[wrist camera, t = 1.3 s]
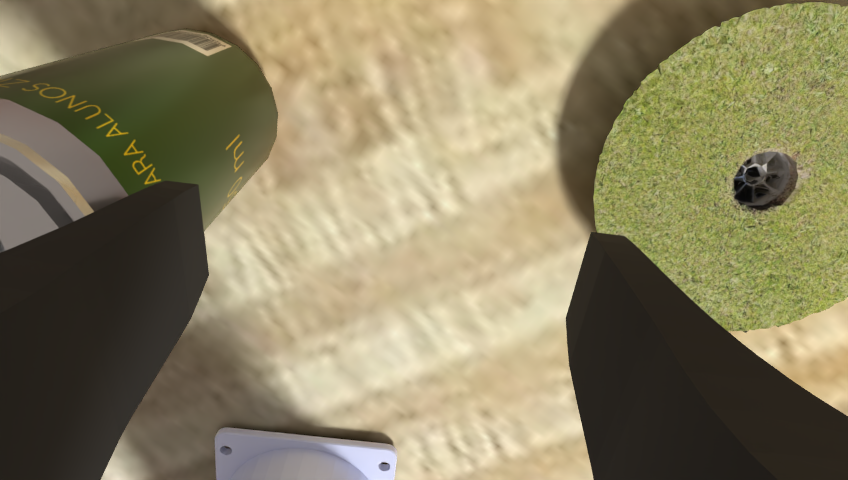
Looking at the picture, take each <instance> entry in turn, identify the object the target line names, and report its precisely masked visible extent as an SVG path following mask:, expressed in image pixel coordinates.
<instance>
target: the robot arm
mask: <svg viewBox="0 0 848 480" xmlns="http://www.w3.org/2000/svg"><path fill="white" fill-rule="evenodd" d="M208 276H209V272H208V263H207V254H206V246H205V237H204V228H203V219H202V211H201V202H200V193H199V184H191V183H182V182H174V181H166V180H165V181H163V182H160V183H157V184H154V185H152V186H149V187H147V188H145V189H142V190H140V191H138V192H136V193H133V194H131V195H129V196H127V197H125V198H123V199H121V200H118V201H116V202H114V203H112V204H110V205H108V206H106V207H104V208H101V209H99V210H97V211H95V212H93V213H91V214H89V215H87V216H84V217H82V218H80V219H78V220H76V221H74V222H72V223H69V224H67V225H65V226H63V227H60V228H58V229H56V230H53V231H51V232H48V233H46V234H44V235H41V236H39V237H37V238H34V239H32V240H30V241H27V242H25V243H23V244H20V245H18V246H16V247H13V248H11V249H8V250H6V251H3V252H0V480H101V477H102V475H103V473H104V471H105V469H106V467H107V465H108V462H109V460H110V458H111V456H112V454H113V452H114V450H115V447H116V445H117V443H118V441H119V439H120V437H121V435H122V433H123V431H124V430H125V428H126V426H127V424H128V422H129V421H130V419H131V417H132V415H133V413H134V412H135V410H136V409H137V407H138V405H139V404H140V402H141V400H142V399H143V397H144V395H145V394H146V392H147V391H148V389H149V387H150V386H151V384H152V382H153V381H154V379H155V377H156V376H157V374H158V372H159V371H160V369H161V368H162V366H163V364H164V363H165V361H166V359H167V358H168V356H169V354H170V353H171V351H172V349H173V348H174V346H175V344H176V343H177V341H178V339H179V338H180V336H181V334H182V333H183V331H184V329H185V328H186V326H187V324H188V322H189V321H190V319H191V317H192V314H193V312H194V310H195V308H196V305H197V303H198V301H199V298H200V296H201V293H202V291H203V288H204V286H205V283H206V281H207V278H208ZM566 328H567V344H568V356H569V366H570V371H571V376H572V381H573V385H574V390H575V395H576V400H577V404H578V409H579V413H580V418H581V422H582V427H583V431H584V436H585V440H586V445H587V449H588V454H589V458H590V463H591V467H592V472H593V478H594V480H848V416H846V415H845V414H843V413H841V412H840V411H838V410H837V409H835V408H833V407H832V406H830V405H829V404H827V403H825V402H824V401H822V400H821V399H819V398H817V397H816V396H814V395H813V394H811V393H810V392H808V391H807V390H805V389H804V388H802V387H801V386H799V385H798V384H796V383H795V382H793V381H792V380H791V379H789V378H788V377H786V376H785V375H784V374H782V373H781V372H779V371H778V370H777V369H775V368H774V367H773V366H771V365H770V364H768V363H767V362H766V361H764V360H763V359H762V358H760V357H759V356H757V355H756V354H755V353H754V352H752V351H751V350H750V349H748V348H747V347H746V346H745V345H743V344H742V343H741V342H740V341H738V340H737V339H736V338H735V337H734V336H733V335H731V334H730V333H729V332H728V331H727V330H725V329H724V328H723V327H722V326H721V325H720V324H718V323H717V322H716V321H715V320H714V319H712V318H711V317H710V316H709V315H708V314H707V313H706V312H705V311H704V310H702V309H701V308H700V307H699V306H698V305H697V304H696V303H695V302H694V301H693V300H691V299H690V298H689V297H688V296H687V295H686V294H685V293H684V292H683V291H682V290H681V289H680V288H679V287H678V286H677V285H676V284H675V283H674V282H673V281H672V280H671V279H670V278H668V277H667V276H666V275H665V274H664V273H663V272H662V271H661V270H660V269H659V268H658V267H657V266H656V265H655V264H654V263H653V262H652V261H651V260H650V259H649V258H648V257H647V256H646V255H645V254H644V253H643V252H642V251H641V250H640V249H639V248H638V247H637V246H636V245H635V244H634V243H632V242H631V241H630V240H629V239H628V238H627V237H625V236H621V235H613V234H605V233H597V232H591V234H590V238H589V241H588V244H587V248H586V251H585V255H584V258H583V261H582V265H581V268H580V272H579V275H578V279H577V282H576V285H575V289H574V292H573V296H572V299H571V302H570V306H569V309H568V313H567V316H566ZM224 446H228V447H230V448H231V449H228V448H226V447H224ZM396 460H397V450H396V448H395V447H394V446H392V445H390V444H385V443H375V442H365V441H356V440H346V439H336V438H326V437H317V436H307V435H297V434H287V433H278V432H268V431H258V430H248V429H239V428H229V427H226V428H221V429H220V430H219V431H218V432H217V434H216V436H215V462H216V480H394V477H395V469H396ZM382 462H386V463H388V464H386V465H384V464H382Z"/></svg>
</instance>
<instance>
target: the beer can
mask: <svg viewBox="0 0 848 480" xmlns="http://www.w3.org/2000/svg"><path fill="white" fill-rule="evenodd" d="M277 119H278V112H277V108H276V104H275V100H274V96H273V92H272V88H271V87H270V85H269V83H268V82H267V80H266V78H265V77H264V75H263V73H262V71H261V70H260V68H259V66H258V65H257V64H256V63H255V62H254V61H253V60H252V59H251V58H250V57H249V56H248V55H246V54H245V53H244V52H243V51H242V50H241V49H240V48H239V47H238V46H237V45H235V44H233V43H231V42H229V41H227V40H225V39H223V38H221V37H219V36H217V35H215V34H213V33H208V32H202V31H196V30H190V29H182V30H176V31H170V32H164V33H159V34H156V35H152V36H148V37H144V38H141V39H137V40H133V41H129V42H126V43H122V44H118V45H114V46H111V47H107V48H103V49H99V50H96V51H92V52H88V53H84V54H81V55H77V56H73V57H70V58H66V59H62V60H58V61H55V62H51V63H47V64H43V65H40V66H36V67H32V68H28V69H25V70H21V71H17V72H13V73H10V74H6V75H2V76H0V252H3V251H6V250H8V249H11V248H13V247H16V246H18V245H20V244H23V243H25V242H27V241H30V240H32V239H34V238H37V237H39V236H41V235H44V234H46V233H48V232H51V231H53V230H56V229H58V228H60V227H63V226H65V225H67V224H69V223H72V222H74V221H76V220H78V219H80V218H82V217H84V216H87V215H89V214H91V213H93V212H95V211H97V210H99V209H101V208H104V207H106V206H108V205H110V204H112V203H114V202H116V201H118V200H121V199H123V198H125V197H127V196H129V195H131V194H133V193H136V192H138V191H140V190H142V189H145V188H147V187H149V186H152V185H154V184H157V183H160V182H163V181H165V180H166V181H174V182H182V183H191V184H199V193H200V202H201V211H202V219H203V228H204V231H205V230H206V228H207V227H208V226H209V225H210V224H211V223H212V222H213V220H214V219H215V218H216V217H217V216H218V215H219V214H220V212H221V211H222V210H223V209H224V208H225V207H226V206H227V204H228V203H229V202H230V201H231V200H232V199H233V197H234V196H235V195H236V194H237V193H238V192H239V191H240V189H241V188H242V187H243V186H244V185H245V184H246V183H247V181H248V180H249V179H250V178H251V177H252V176H253V175H254V173H255V172H256V171H257V170H258V169H259V168H260V167H261V165H262V164H263V163H264V162H265V161H266V160H267V158H268V156H269V154H270V151H271V149H272V147H273V144H274V142H275V139H276V136H277Z"/></svg>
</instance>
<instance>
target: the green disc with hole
mask: <svg viewBox="0 0 848 480" xmlns="http://www.w3.org/2000/svg"><path fill="white" fill-rule="evenodd" d="M593 200H594V212H595V214H594V217H595V226H596V230H597V233H605V234H613V235H621V236H625V237H627V238H628V239H629V240H630V241H631V242H632V243H634V244H635V245H636V246H637V247H638V248H639V249H640V250H641V251H642V252H643V253H644V254H645V255H646V256H647V257H648V258H649V259H650V260H651V261H652V262H653V263H654V264H655V265H656V266H657V267H658V268H659V269H660V270H661V271H662V272H663V273H664V274H665V275H666V276H667V277H668V278H670V279H671V280H672V281H673V282H674V283H675V284H676V285H677V286H678V287H679V288H680V289H681V290H682V291H683V292H684V293H685V294H686V295H687V296H688V297H689V298H690V299H691V300H693V301H694V302H695V303H696V304H697V305H698V306H699V307H700V308H701V309H702V310H704V311H705V312H706V313H707V314H708V315H709V316H710V317H711V318H712V319H714V320H715V321H716V322H717V323H718V324H720V325H721V326H722V327H723V328H724V329H725V330H727V331H743V332H747V331H748V330H749V329H750V330H756V329H767V328H770V327H773V326H775V325H776V326H777V327H779V326H781V325H785V324H790V323H791V322H793V321H796V320H801V319H803V318H805V317H806V316H808V315H810V314H813V313H817V312H821V311H823V310H826V309H829V308H830V307H831V306H833V305H834V304H835V303H838V302H841V301H844V300H845V299H846V298H847V297H848V6H842V7H841V6H840V5H839V4H831V3H824V2H805V3H802V4H798V3H795V4H789V3H787V4H784V5H778V6H773V7H771V8H762V9H756V10H753V11H750V12H748V13H746V14H744V15H742V16H740V17H733V18H732V19H730V20H727V21H723V22H721V26H720V27H717V26H714V27H712V28H710V29H708V30H707V31H705V32H704V33H703V34H702V35H700V36H697V37H695V38H693V39H692V40H691V41H690V42H689V43H687V44H686V45H684V46H683V47H681V48H680V49H679V50H677V51H676V52H675V53H673V54H672V55H670V56H669V58H668V59H666V60H664V61H662V62H661V63H660V64H659V66H658V68H657V69H656V70H655V71H653V72H652V73H650V74H649V75H647V77H646V78H645V79H644V80H643V81H641V86H640V87H639V88H638V90H634V93H633V95H632V96H631V97H630V98H629V99H627V101H626V102H625V104H624V106H623V110H622V112H621V113H620V114H619V116H618V117H617V118H616V120H615V121H614V124H613V128H612V130H611V131H610V133H609V135H608V136H607V138H606V141H605V144H604V147H603V151H602V154H601V155H599V163H598V165H597V171H596V178H595V183H594V196H593Z"/></svg>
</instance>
